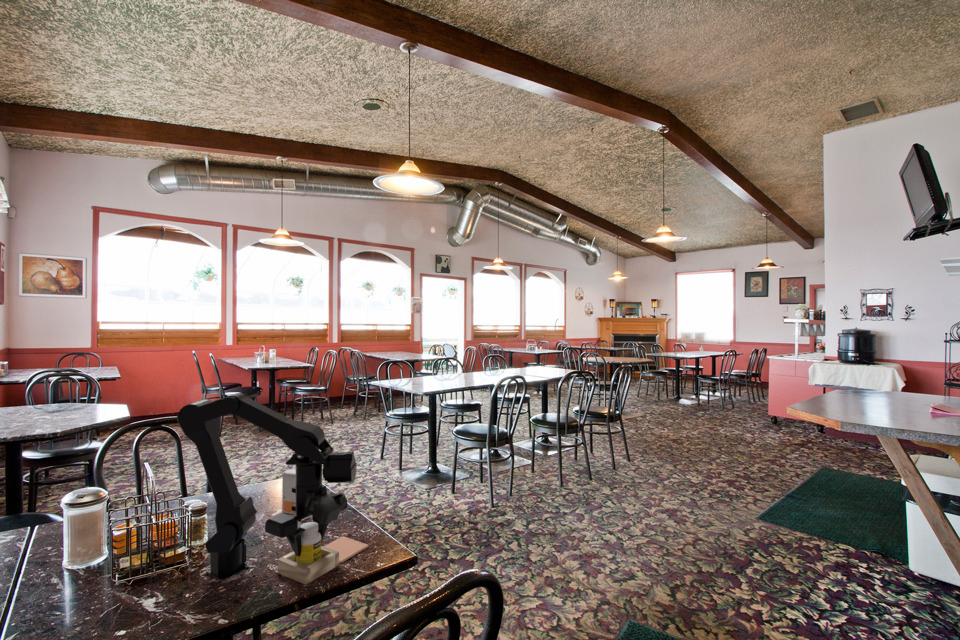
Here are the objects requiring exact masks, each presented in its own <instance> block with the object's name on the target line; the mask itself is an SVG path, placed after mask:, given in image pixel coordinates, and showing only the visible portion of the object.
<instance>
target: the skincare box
mask: <svg viewBox="0 0 960 640" xmlns="http://www.w3.org/2000/svg"><path fill="white" fill-rule="evenodd" d="M281 483H282V484H281V485H282V489H281V490H282V491H281V492H282V494H281V496H282V498H281V499H282V500H281V502H282V503H281V504H282V505H281V506H282V507H281V509H282V510H281V511H282V513H283V514H288V515H290V514H291V515H294V514H296V511H293V510H292V505H295V504H296V493H293V492H292V488H293V487H295V486H296V468H289V469H287V470H285V471H283V472H282V482H281Z"/></svg>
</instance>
